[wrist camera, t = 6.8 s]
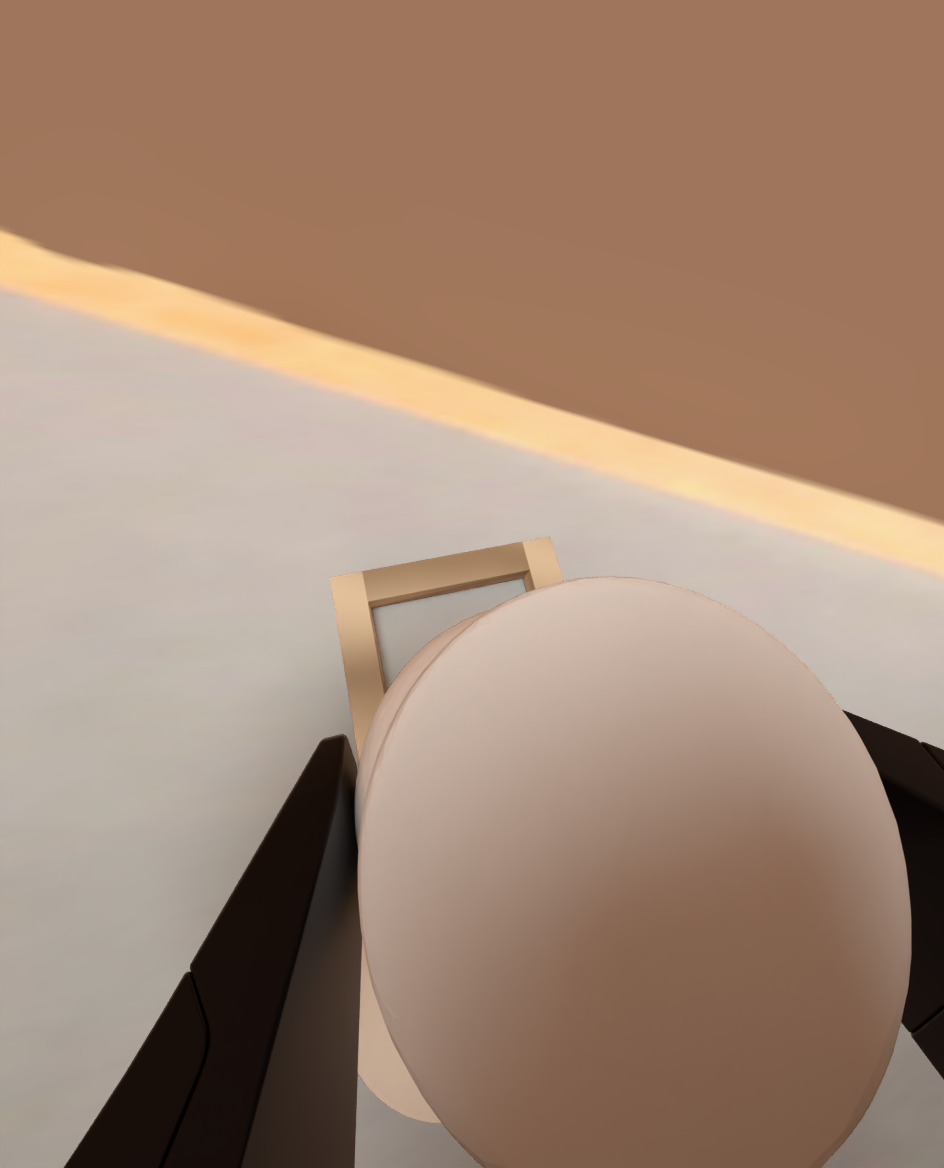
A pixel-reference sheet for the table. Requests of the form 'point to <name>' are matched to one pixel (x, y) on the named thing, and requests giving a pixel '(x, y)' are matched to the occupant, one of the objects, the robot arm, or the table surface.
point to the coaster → (385, 1058)
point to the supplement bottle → (630, 887)
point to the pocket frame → (414, 583)
